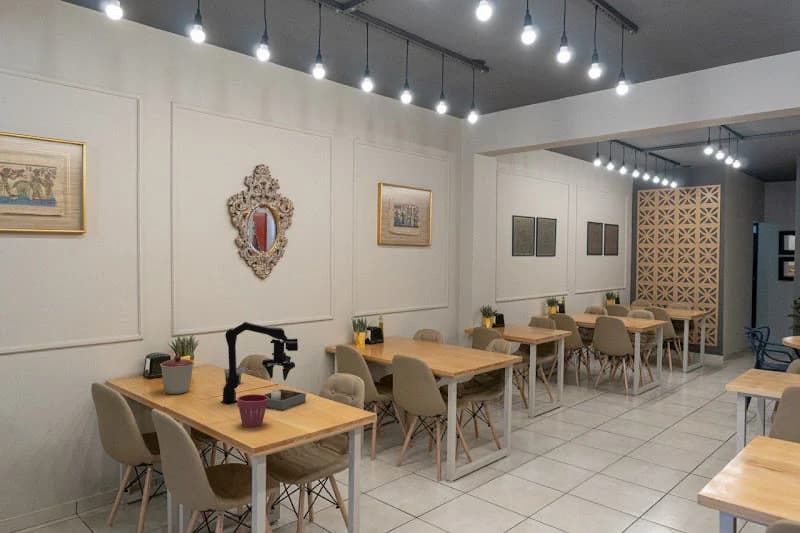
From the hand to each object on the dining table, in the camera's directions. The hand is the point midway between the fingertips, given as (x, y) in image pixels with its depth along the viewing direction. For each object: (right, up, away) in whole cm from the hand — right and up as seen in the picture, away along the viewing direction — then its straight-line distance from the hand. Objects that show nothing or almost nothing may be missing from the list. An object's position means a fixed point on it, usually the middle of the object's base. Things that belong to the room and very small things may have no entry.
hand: (278, 379), depth 299 cm
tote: (+3, -12, -6) cm, 14 cm away
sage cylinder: (+1, -11, -10) cm, 15 cm away
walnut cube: (+5, -11, -2) cm, 13 cm away
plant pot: (-3, -13, -42) cm, 44 cm away
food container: (-34, -11, +35) cm, 50 cm away
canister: (-61, -10, +13) cm, 63 cm away
